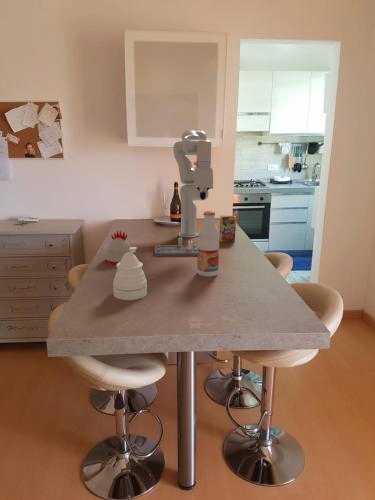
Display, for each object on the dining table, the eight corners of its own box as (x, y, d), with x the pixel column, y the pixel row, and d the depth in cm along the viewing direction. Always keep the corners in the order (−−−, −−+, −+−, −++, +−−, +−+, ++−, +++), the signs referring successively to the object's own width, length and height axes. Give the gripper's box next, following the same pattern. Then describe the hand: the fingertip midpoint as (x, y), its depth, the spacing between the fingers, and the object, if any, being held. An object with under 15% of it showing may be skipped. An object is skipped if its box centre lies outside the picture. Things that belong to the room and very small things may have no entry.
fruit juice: (203, 269, 180) (204, 209, 172) (221, 272, 175) (224, 211, 168) (193, 274, 172) (194, 212, 164) (212, 278, 167) (214, 214, 160)
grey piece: (128, 266, 183) (127, 235, 179) (101, 263, 185) (99, 233, 181) (137, 257, 196) (137, 229, 192) (112, 255, 198) (111, 227, 194)
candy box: (220, 242, 228) (221, 216, 224) (219, 240, 232) (219, 215, 228) (235, 242, 229) (236, 216, 225) (233, 240, 233) (234, 215, 229)
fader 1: (178, 245, 213) (178, 236, 211) (181, 245, 213) (182, 236, 212) (178, 246, 210) (178, 237, 209) (182, 246, 210) (182, 237, 209)
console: (154, 247, 214) (154, 243, 213) (197, 247, 216) (197, 243, 215) (154, 256, 199) (154, 251, 198) (200, 255, 200) (201, 251, 200)
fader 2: (188, 248, 206) (188, 239, 205) (191, 248, 207) (192, 239, 205) (188, 250, 204) (188, 241, 203) (192, 250, 204) (192, 241, 203)
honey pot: (131, 285, 159) (130, 242, 154) (153, 292, 151) (153, 248, 146) (106, 294, 149) (104, 249, 144) (129, 302, 141) (127, 255, 136)
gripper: (190, 165, 198) (189, 200, 203) (218, 165, 200) (217, 200, 205) (188, 164, 206) (188, 198, 211) (216, 164, 207) (215, 198, 212)
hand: (202, 199), depth 208 cm, fingers closed
